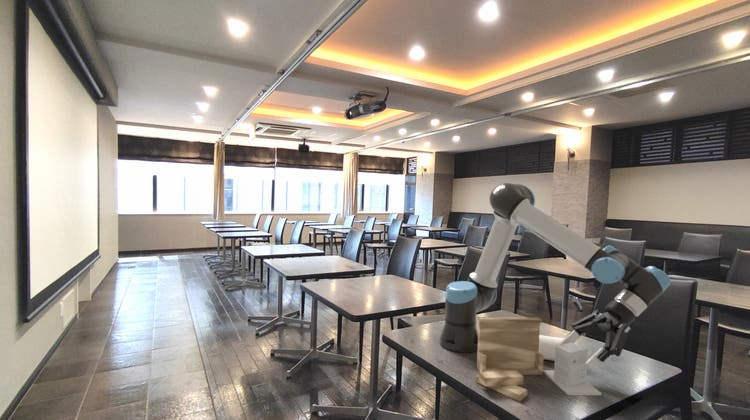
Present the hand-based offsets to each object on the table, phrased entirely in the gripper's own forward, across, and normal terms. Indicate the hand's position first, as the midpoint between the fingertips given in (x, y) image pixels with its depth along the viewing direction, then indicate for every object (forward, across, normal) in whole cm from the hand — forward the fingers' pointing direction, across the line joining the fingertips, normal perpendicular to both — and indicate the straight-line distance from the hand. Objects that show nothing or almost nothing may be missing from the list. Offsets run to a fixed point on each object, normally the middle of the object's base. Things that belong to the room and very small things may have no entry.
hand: (575, 356), depth 111 cm
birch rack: (+18, +8, +6) cm, 21 cm away
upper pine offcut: (+22, -3, +12) cm, 25 cm away
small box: (+6, +1, -5) cm, 8 cm away
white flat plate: (+7, 0, -6) cm, 9 cm away
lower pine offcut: (+24, -3, +10) cm, 26 cm away
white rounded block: (+4, +18, -9) cm, 21 cm away
